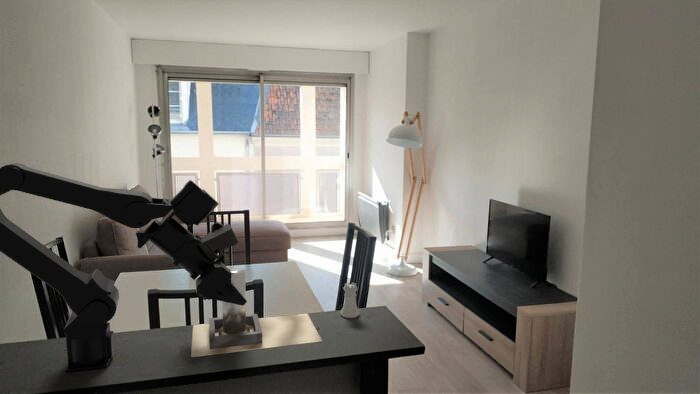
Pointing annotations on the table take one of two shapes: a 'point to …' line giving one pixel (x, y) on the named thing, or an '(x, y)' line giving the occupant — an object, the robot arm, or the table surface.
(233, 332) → the grey rounded piece
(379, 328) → the table surface
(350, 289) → the rook chess piece
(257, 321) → the carrier board
